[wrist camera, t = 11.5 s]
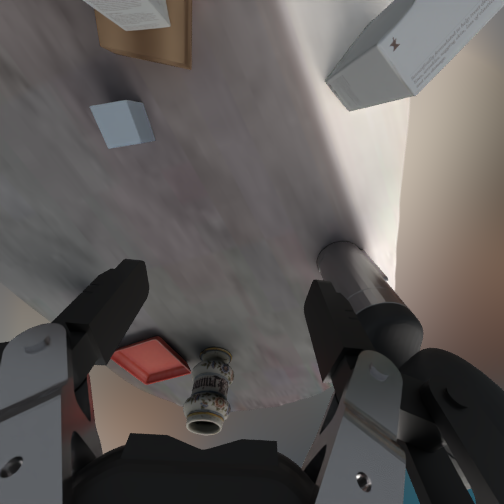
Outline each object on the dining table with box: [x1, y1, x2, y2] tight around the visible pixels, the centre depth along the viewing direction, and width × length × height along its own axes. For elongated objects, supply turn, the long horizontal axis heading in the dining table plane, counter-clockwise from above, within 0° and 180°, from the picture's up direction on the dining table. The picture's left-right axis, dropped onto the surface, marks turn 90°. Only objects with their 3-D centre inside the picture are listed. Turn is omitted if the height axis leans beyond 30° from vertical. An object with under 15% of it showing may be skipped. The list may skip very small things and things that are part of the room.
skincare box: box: [325, 0, 504, 111], centre depth 22 cm, size 8×6×15 cm
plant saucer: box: [111, 336, 191, 385], centre depth 64 cm, size 18×18×3 cm
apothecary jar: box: [183, 347, 234, 435], centre depth 57 cm, size 12×12×18 cm
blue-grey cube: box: [90, 100, 156, 149], centre depth 30 cm, size 5×5×5 cm
